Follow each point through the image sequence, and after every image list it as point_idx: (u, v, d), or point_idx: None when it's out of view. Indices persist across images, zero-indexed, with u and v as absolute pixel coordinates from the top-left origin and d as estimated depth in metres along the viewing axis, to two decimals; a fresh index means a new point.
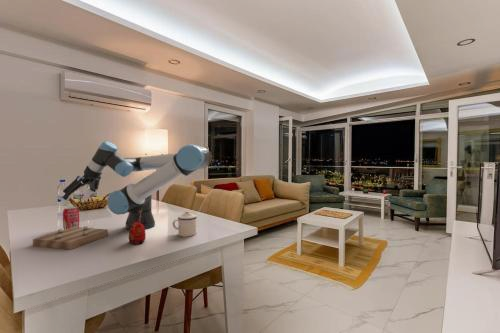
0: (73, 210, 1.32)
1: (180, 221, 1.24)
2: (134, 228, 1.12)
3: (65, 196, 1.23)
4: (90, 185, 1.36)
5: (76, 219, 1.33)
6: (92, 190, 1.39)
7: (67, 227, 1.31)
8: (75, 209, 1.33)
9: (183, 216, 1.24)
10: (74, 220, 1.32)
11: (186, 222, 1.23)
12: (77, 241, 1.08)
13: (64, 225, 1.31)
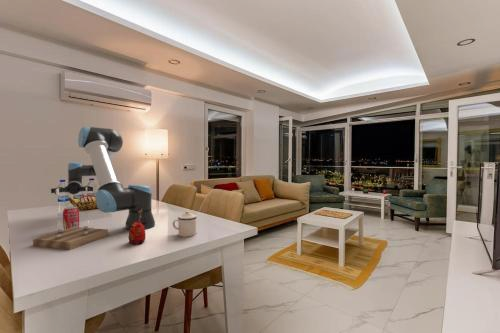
0: (73, 210, 1.32)
1: (180, 221, 1.24)
2: (134, 228, 1.12)
3: None
4: (82, 189, 1.53)
5: (76, 219, 1.33)
6: None
7: (67, 227, 1.31)
8: (75, 209, 1.33)
9: (183, 216, 1.24)
10: (74, 220, 1.32)
11: (186, 222, 1.23)
12: (77, 241, 1.08)
13: (64, 225, 1.31)
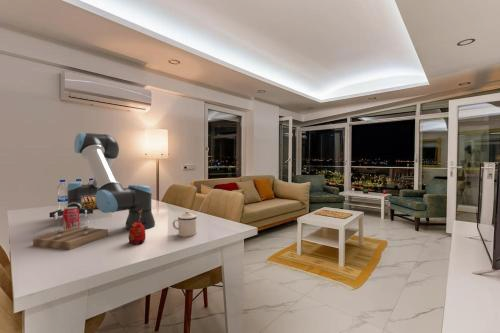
0: (73, 210, 1.32)
1: (180, 221, 1.24)
2: (134, 228, 1.12)
3: (52, 215, 1.38)
4: (82, 211, 1.49)
5: (76, 219, 1.33)
6: (87, 210, 1.47)
7: (67, 227, 1.31)
8: (75, 209, 1.33)
9: (183, 216, 1.24)
10: (74, 220, 1.32)
11: (186, 222, 1.23)
12: (77, 241, 1.08)
13: (64, 225, 1.31)
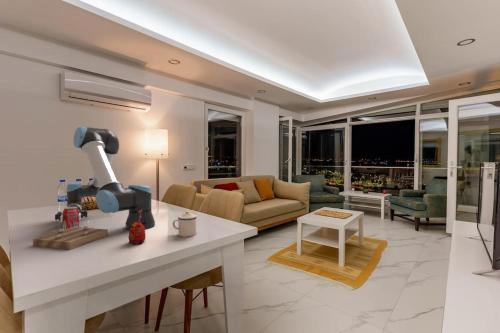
0: (73, 210, 1.32)
1: (180, 221, 1.24)
2: (134, 228, 1.12)
3: None
4: None
5: (76, 219, 1.33)
6: (80, 213, 1.38)
7: (67, 227, 1.31)
8: (75, 209, 1.33)
9: (183, 216, 1.24)
10: (74, 220, 1.32)
11: (186, 222, 1.23)
12: (77, 241, 1.08)
13: (64, 225, 1.31)
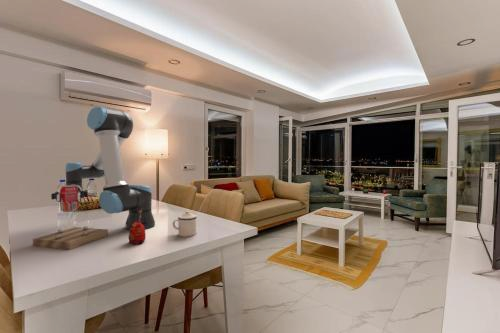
0: (71, 188, 1.18)
1: (180, 221, 1.24)
2: (134, 228, 1.12)
3: (55, 196, 1.17)
4: None
5: (75, 199, 1.19)
6: (80, 193, 1.23)
7: (65, 207, 1.16)
8: (74, 187, 1.19)
9: (183, 216, 1.24)
10: (73, 199, 1.18)
11: (186, 222, 1.23)
12: (77, 241, 1.08)
13: (61, 205, 1.17)
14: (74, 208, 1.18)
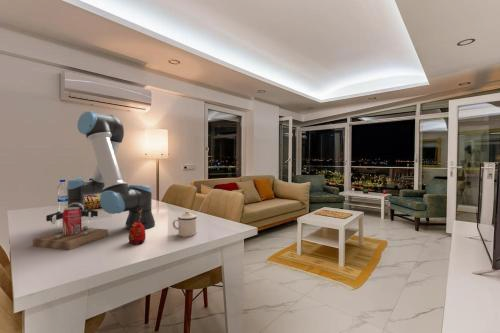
0: (74, 211, 1.15)
1: (180, 221, 1.24)
2: (134, 228, 1.12)
3: (50, 218, 1.14)
4: (84, 214, 1.25)
5: (78, 221, 1.16)
6: (90, 212, 1.24)
7: (67, 231, 1.14)
8: (77, 210, 1.16)
9: (183, 216, 1.24)
10: (76, 222, 1.15)
11: (186, 222, 1.23)
12: (77, 241, 1.08)
13: (64, 228, 1.14)
14: (77, 231, 1.16)
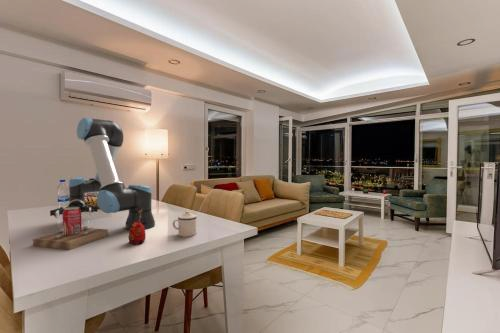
0: (74, 211, 1.15)
1: (180, 221, 1.24)
2: (134, 228, 1.12)
3: (53, 213, 1.25)
4: (85, 209, 1.36)
5: (78, 221, 1.16)
6: (91, 208, 1.35)
7: (67, 231, 1.14)
8: (77, 210, 1.16)
9: (183, 216, 1.24)
10: (76, 222, 1.15)
11: (186, 222, 1.23)
12: (77, 241, 1.08)
13: (64, 228, 1.14)
14: (77, 231, 1.16)
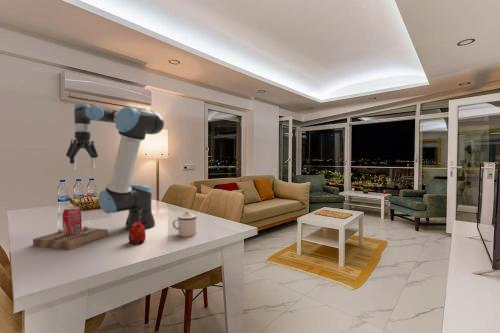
0: (74, 211, 1.15)
1: (180, 221, 1.24)
2: (134, 228, 1.12)
3: (71, 160, 1.37)
4: (89, 152, 1.50)
5: (78, 221, 1.16)
6: (93, 157, 1.53)
7: (67, 231, 1.14)
8: (77, 210, 1.16)
9: (183, 216, 1.24)
10: (76, 222, 1.15)
11: (186, 222, 1.23)
12: (77, 241, 1.08)
13: (64, 228, 1.14)
14: (77, 231, 1.16)
